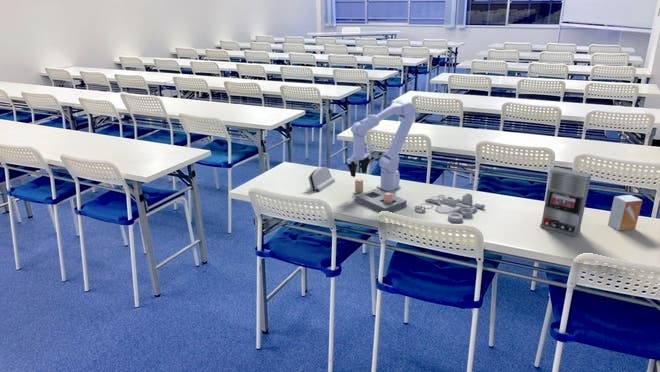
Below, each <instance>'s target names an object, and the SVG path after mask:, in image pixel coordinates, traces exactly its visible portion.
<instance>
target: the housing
mask: <svg viewBox="0 0 660 372" xmlns="http://www.w3.org/2000/svg"><path fill="white" fill-rule="evenodd" d="M384 193H387V191H386V192H385V190H384V191H383V190H382V189H380V188H379V189H378V188H374V189H370V190H367V191H365V192H364V191H363V193H357V194H356V195H354V201H356V202H358V203H360V204H362V205H364V206H367V207H369V208H372V209H374V210H376V211H378V212H380V211H390V212H392V211H396V210H399V209H401V208H404V207H406V206H407V200H406V199H404V198H401V197H398V196H396V195H394V194H393V202H392V204H389V205H388V204H385V203H384Z"/></svg>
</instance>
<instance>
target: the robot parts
mask: <svg viewBox="0 0 660 372" xmlns="http://www.w3.org/2000/svg"><path fill="white" fill-rule="evenodd" d="M424 201H425V202H426V203H421V204H420V205H416V206H415V207H414V211H415V212H416V213H421V214H422V213H425V212H426V209H427V210H429V209H433V208H434V205H433V204H435V205H438V206H436V207H435V208H434V211H435V212H436V213H439V214H445V215H446V214H447V219H448V221H450V222H453V223H460V222H462V221H463V218H472V216H473V213H475V212H477V211H478V209H481V210H484V209H485V207H486V205H485V204H484V203H482V204H479V203H474V204H473V201H474V200H473V195H472V194H471V193H465V194H464V195H463V196H462V198H455V199H454V197H452V196H447V197H446V195H443V194H439V195H437V196H431V197H430V198H426V199H424ZM428 202H429V203H428ZM431 203H432V204H431ZM442 204H444V205H445V206H443V205H442ZM423 205H430V206H431V207H426V206H423ZM446 205H447V206H446ZM472 205H473V206H472ZM449 206H456V207H454V208H452V207H449ZM471 206H472V207H471ZM483 208H484V209H483Z"/></svg>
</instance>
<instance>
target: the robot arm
mask: <svg viewBox="0 0 660 372" xmlns="http://www.w3.org/2000/svg"><path fill="white" fill-rule="evenodd" d="M415 112H416V109H415V106H414V104H413V103H411V102H406V101H404V100H402V99H398V100H396V101H394V102H392V104H391V105H390V106H388V107H386V108H385V109H384V110H381V112H378V113H377V114H368V116H367V117H365V118H364V119H361V120H359V121H357V122H354V123H353V124H352V126H351V127H350V131H351V133H352V155H351V157H349V158H347V159H346V165H347V167H348V169H349V172H350V176H351V177H353V178H355V177H356V176H357V175H356V174H357V167H358V164H357V163H356V162H358V161H359V162H360V165H361V173H363V174H366V173H367V169H368V166H369V165H370V163H371V161H372V160H371V159H372V158H371V153H368V152H366V153H365V151H366V135H367V133H369V131H370V130H373V129H375V127H377V126H379V125H380V122H382V121H383V120H385V119H388V118H389V117H391V116H393V115H396V116H398V117H399V119H400V123H399V126H398V127H397V130H396V132H395V134H394V136H393V140H392V141H391V143H390V146H389V148H388V150H387V151H385V152H383V154H382V156H381V157H380V158H379V160H378V165H379V168H380V184H379V185H376V188H377V189H378V188H379V189H380V190H382V191H383V190H384V191H386V192H390V191H392V190H395V189H398V188H400V187H401V185H400V180H401V179H400V171H399V170H398V169H399V163H400V160H401V159H400V156H399V154H400V152H401V150H402V148H403V145H404V143H405V141H406V138H407V137H408V134H409V132H410V130H411V128H412V126H413V124H414V114H415Z"/></svg>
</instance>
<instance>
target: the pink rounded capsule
mask: <svg viewBox="0 0 660 372" xmlns="http://www.w3.org/2000/svg"><path fill="white" fill-rule="evenodd" d="M362 192H363V193H364V180H363V179H361V178H356V179H355V180H354V193H356V194H361V193H362Z"/></svg>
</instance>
